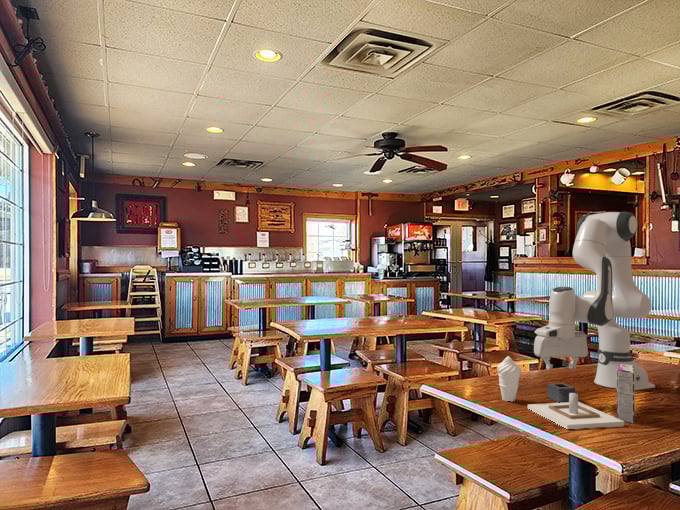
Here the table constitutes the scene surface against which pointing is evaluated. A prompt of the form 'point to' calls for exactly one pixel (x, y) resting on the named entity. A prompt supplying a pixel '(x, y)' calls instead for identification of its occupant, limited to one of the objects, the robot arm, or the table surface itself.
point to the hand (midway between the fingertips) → (560, 369)
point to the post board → (575, 414)
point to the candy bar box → (626, 393)
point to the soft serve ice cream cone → (508, 378)
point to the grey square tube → (559, 391)
